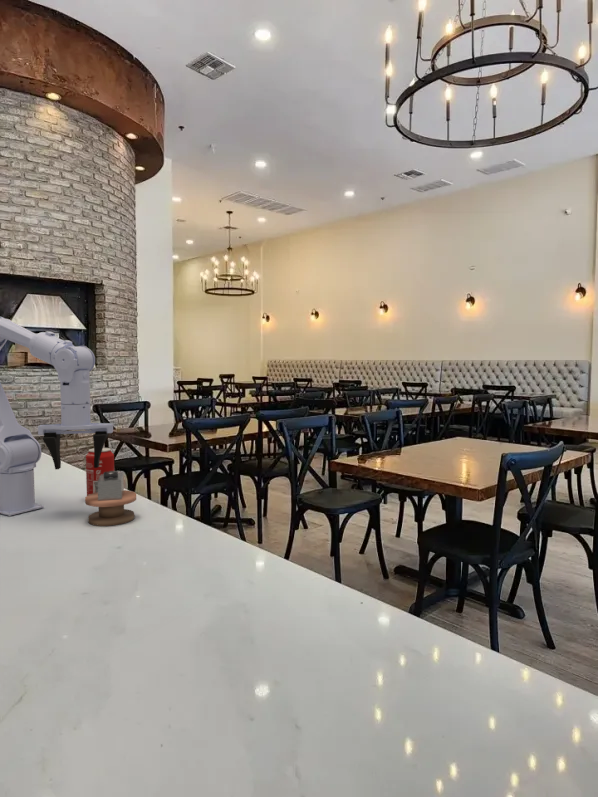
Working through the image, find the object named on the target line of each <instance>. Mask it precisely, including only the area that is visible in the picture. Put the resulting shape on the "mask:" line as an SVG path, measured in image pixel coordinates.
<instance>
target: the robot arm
mask: <svg viewBox="0 0 598 797" xmlns="http://www.w3.org/2000/svg"><path fill="white" fill-rule="evenodd" d="M7 341H10V342H12V343H14V344H17V345H20V346H22V347H25V348H27V349H28V350H29V353H30V355H31V356H32V357H34V358H36V359H38V360H40V361H43V362H45V363H46V364H49V365H51V366H53V367H54V369H55V371H56V372H57V380H59V381H58V382H60V383H59V384H60V387H59V388H60V389H59V391H60V416H61V417H60V421H61V423H54V424H53V423H52V424H40V425H38V426H37V435H38V436H43V437H42V439H43V440H42V441H43V442H44V444H45V445H46V447H47V449H48V452H49V453H50V455H51V458H52V461H53V465H54V470H60V469H61V468H62V467H61V466H62V461H61V459H62V458H61V435H70V434H71V435H73V434H75V435H77V434H93V435H92V440H93V448H94V468H98V467H99V461H100V456H101V452H102V449H103V448H104V446H105V443H106V441H107V439H108V437H109V434H112V433H113V432H114V423H113V422H112V423H111V422H109V423H107V422H103V423H102V422H92V421H91V420H92V419H91V418H92V417H91V416H92V415H91V386H90V385H91V384H90V383H91V382H90V372H91V371H93V369H94V368H95V365H96V357H95V354H94V352H93V351H92V350H91V349H90V348H88V347H87V345H79V346H76V345H74V344H73V341H71V340H68V339H62V338H59V337H57V336H56V333H55V332H53V331H47V330H46V331H45V332H44V331H42V332H39V333H35V332H33V331H31V330H30V329H27V328H25V327H23V326H21V325H19V324H18V323H16V322H13V321H12V320H11V319H9V318H5V317H2V316H0V351H1V350H2V349H3V347H4V345H5V344H6V343H7ZM41 457H42V446H41V444H40V443H39V441H38V440H37V439H36V438H35V437H34V436H33V434H32V432H31V430H30V429H28V428H27V427H25V426H22V425H21V424H20V423H19V422H18V420H17V418H16V415H15V413H14V411H13V409H12V406H11V404H10V402H9V399H8V396H7V394H6V392H5V389H4V387H3V385H2V382H1V381H0V514H1V515H5V516H14V515H18V514H23V513H26V512H30V511H36V510H39V509H43V508H44V505H43V504H39V503H36V502H35V501H36V499H35V498H36V496H35V468H37V463H38V462H39V461H40V459H41Z"/></svg>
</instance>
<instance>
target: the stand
mask: <svg viewBox="0 0 598 797" xmlns="http://www.w3.org/2000/svg"><path fill="white" fill-rule="evenodd" d="M84 500H85V504H86V506H89V507H95V508H98V511H95V512H93V513H91V514H89V515H88V520H87V521H88V523H89V524H90V525H92V526H96V527H112V526H119V525H124V524H128V523H130V522H132V521H133V520H134V519H135V512H134V511H133V510H132V509H125V505H128V504H131V503H134V502H136V501H137V493H136V492H135V491H132V490H127V489H126V490H124V492H123V496H122V499H120V500H104V501H98V492H97V493H93V494H90V495H88V496H87V495H86V496H85V498H84Z"/></svg>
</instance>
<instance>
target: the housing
mask: <svg viewBox="0 0 598 797" xmlns="http://www.w3.org/2000/svg"><path fill="white" fill-rule="evenodd" d="M124 489H125V487H124V472H119V471H117V470H114V471H106V472H104V474H101V475H100V477H99V479H98V501H104V500H120V499H122V496H123V492H124Z"/></svg>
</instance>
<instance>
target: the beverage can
mask: <svg viewBox="0 0 598 797" xmlns="http://www.w3.org/2000/svg"><path fill="white" fill-rule="evenodd" d="M106 471H115V454H114V453H113V452H112V449H111V448H110V447H103V449H102V452H101V456H100V461H99V467H98V468H94V447H93V448H89V449H88V453H87V454H86V455H85V476H86V478H85V480H86V481H85V483H86V496H88V495H90V494H93V493H97V492H98V479H99V477H100V475H101V474H104V472H106Z"/></svg>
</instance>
